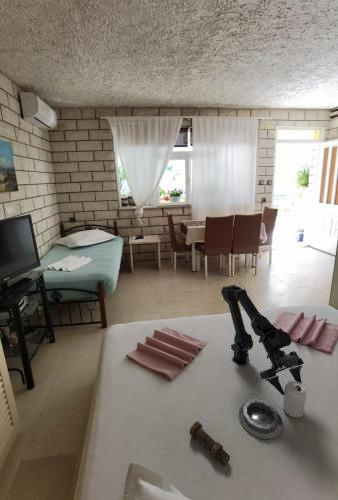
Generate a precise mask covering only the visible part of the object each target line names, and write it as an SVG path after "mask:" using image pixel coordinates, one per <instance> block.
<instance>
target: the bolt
mask: <svg viewBox="0 0 338 500" xmlns="http://www.w3.org/2000/svg"><path fill="white" fill-rule="evenodd" d="M189 435H190V436H191V437H192V438H193V439H196V438H197V439H198V440H199V441H200V442H201V443H202V444H203V445H204V446H205V447H206V448H207V450H209V451H210V455H211V456H212V457H213V458H214V459H216V460H217V459H218V460H219V461H220V463H222V464H223V465H225V466H227V464H228V463H229V462H230V459H231V456H230V454H229V453H228V452H226V450H225V449H224V447H223V445H222V444H221V443H220V442H219V441H215V440H214V439H213V438H212V437H211V436H210V435H209V434H208V433H207V432H206V431H205V430H204V429H203V424H201V422H200V421H198V420H197V421H195V422H194V423H192V426H191V427H190V429H189Z"/></svg>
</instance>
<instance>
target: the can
mask: <svg viewBox="0 0 338 500" xmlns="http://www.w3.org/2000/svg"><path fill="white" fill-rule="evenodd" d="M283 391H284V394H285V395H283V400H282V409H283V411H284V412H285V413H286V414H287V415H288V416H289V417H292V418H297V419H298V418H301V417H303V416H304V412H305V407H306V406H305V404H306V398H307V391H306V388H305V386H304V385H303V383H302V384H300V383H299V382H296V381H295V380H290V381H288V382H286V384H285V386H284V389H283Z"/></svg>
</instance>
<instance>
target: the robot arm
mask: <svg viewBox="0 0 338 500" xmlns="http://www.w3.org/2000/svg"><path fill="white" fill-rule="evenodd" d="M220 291H221V295H222V298H223V300H224V301H225V302H226V304H228V308H229V312H230V315H231V316H230V317H231V320H232V324H233V326H234V332H235V334H234V337H233V338H234V339H233V340H234V343H232V344H230V349H231V350H232V351H233V357H232V358H231V361H233V362H235V363H236V364H239V365H240V366H245V365H246V364H247V363H248V362H249V360H250V358H249V357H250V353H249V351H250V350H252V348H253V347H254V340H253V337H252V334H249V332H248V331H246V327H245V323H244V320H243V315H242V312H241V309H240V305H241V307H242V308H243V310H244V312H245V313H246V315H247V316H248V318H249V319H250V327H251V329H252V330H253V333H254V334H255V335H256V336H257V337H259V339H258V343H259V344H260V343H261V344H262V346H263V347H264V350H265V352H266V354H267V355H266V359H269V361H270V363H271V365H270V368H267V369H264V370H262V371H260V372H259V377H260V379H261V380H265V382H268V383H269V384H270V385H272V386H273V387H274V388H275V389H276V391H278V392H279V393H280V395H282V396H284V395H285V394H284V389H283V386H282V385H281V382H280V379H279V375H277V373H280V372H282V371H285V370H286V369H288V371H289V372H290V374H291V376H292V377H293V380H294V381H296V382H299V383H300V384H302V385H303V383H302V376H301V370H302V368H303V365H304V364H305V363H304V361H303V359H302V358H301V357H300V356H299V355H298V353H297V351H294V350H293V351H290V352H289V353H286V352H285V351H284V350H283V349H282V348H285V347H289V346H290V345H291V344H292V337H291V335H290V334H289V333H288V332H286V331H284V330H283V328H277V327H276V326H275V325H273V324H272V323H271V321H270V320H269V319H268V318H267V317H266V316H264V315H262V313H260V311H259V309H257V307H256V306H255V304H254V302H253V301H252V299H251V298H250V297H249V295H248V293H247V290H246V289H244V288H242V287H241V286H237V285H235V284H230V285H226V286H223V287H221V290H220ZM239 304H240V305H239Z"/></svg>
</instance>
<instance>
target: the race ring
mask: <svg viewBox="0 0 338 500" xmlns="http://www.w3.org/2000/svg"><path fill="white" fill-rule="evenodd" d="M238 419H239V420H238V421H239V422H240V425H241V426H242V428H243V429H244V430H245V431H246V432H247V433H248V434H249V435H251V436H253V437H254V438H257V439H259V440H260V439H261V440H273V439H276V438H277V437H279V436H280V434H281V433H282V431H283V427H284V426H283V425H284V423H283V419H282V417H281V415H280V413H279V412H278V411H277V410H276V409H275V407H273V405H272V404H270V403H269V402H267V401H265V400H262V399H257V398H255V399H251V400H248V401H247V402H244V403H243V404H242V405H241V406H240V407H239V409H238Z"/></svg>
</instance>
